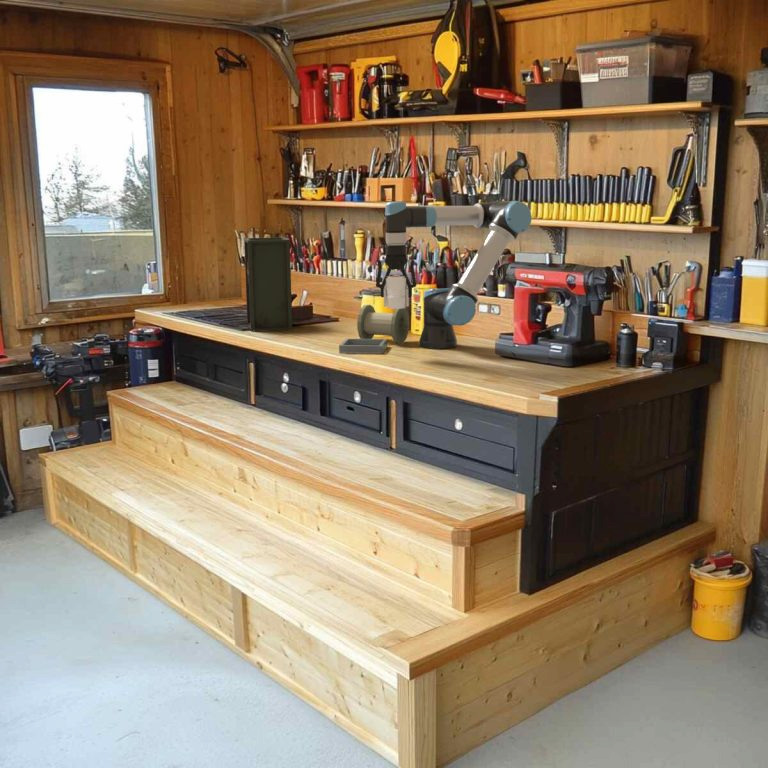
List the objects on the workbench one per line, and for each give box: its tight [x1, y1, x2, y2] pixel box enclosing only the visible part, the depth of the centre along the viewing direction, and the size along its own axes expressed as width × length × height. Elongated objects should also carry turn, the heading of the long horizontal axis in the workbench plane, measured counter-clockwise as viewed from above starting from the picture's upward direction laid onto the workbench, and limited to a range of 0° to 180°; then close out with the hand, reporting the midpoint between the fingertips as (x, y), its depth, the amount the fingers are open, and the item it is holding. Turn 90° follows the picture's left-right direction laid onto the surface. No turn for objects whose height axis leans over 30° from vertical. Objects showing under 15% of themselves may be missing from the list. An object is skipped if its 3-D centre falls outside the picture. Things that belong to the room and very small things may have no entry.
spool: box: [356, 304, 410, 345], centre depth 374 cm, size 16×15×15 cm
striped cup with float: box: [385, 273, 408, 310], centre depth 339 cm, size 10×8×12 cm
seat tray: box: [338, 338, 388, 355], centre depth 357 cm, size 16×16×3 cm
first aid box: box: [243, 236, 293, 331], centre depth 411 cm, size 18×18×40 cm
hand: (396, 305), depth 340 cm, fingers closed on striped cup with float, 8 cm apart
